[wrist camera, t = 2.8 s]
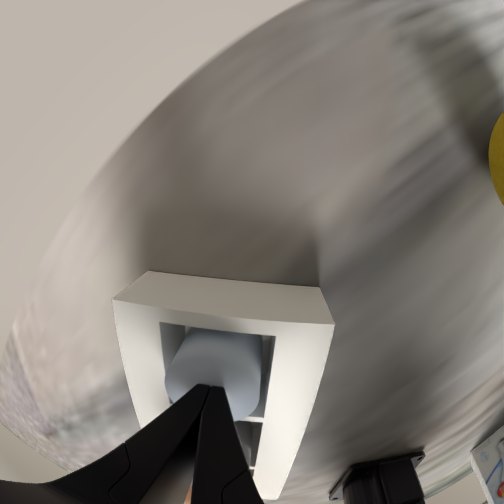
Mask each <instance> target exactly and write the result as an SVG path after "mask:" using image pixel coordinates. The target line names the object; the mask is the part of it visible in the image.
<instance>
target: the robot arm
mask: <svg viewBox="0 0 504 504" xmlns="http://www.w3.org/2000/svg"><path fill="white" fill-rule="evenodd" d="M424 457H425V453H424V452H423V451H422V452H418V453H414V454H410V455H406V456H401V457H397V458H392V459H387V460H381V461H375V462H369V463H362V464H356V465H353V466H351V467H350V468H349V470H348V471H347V473H346V474H345V475H344V477H343V478H342V480H341V481H340V482H339V484H338V485H337V486H336V488H335V489H334V490H333V491H332V493H331V494H330V495H329V500H330V501H334V500H343V499H344V504H425V501H424V493H423V490H422V487H421V484H420V481H419V479H418V476H417V473H416V470H415V468H416V467H417V466H418V464H419V463H420V462H421V461H422V460H423V459H424ZM192 479H193V483H192V492H191V502H190V504H264V502H263V500H262V498H261V496H260V495H259V492H258V490H257V487H256V485H255V483H254V480H253V477H252V474H251V472H250V470H249V466H248V463H247V460H246V457H245V454H244V451H243V448H242V445H241V442H240V438H239V435H238V432H237V429H236V425H235V422H234V419H233V415H232V412H231V409H230V405H229V402H228V398H227V394H226V391H225V388H224V387H221V386H210V385H207V384H200V383H198V384H196V385H195V386H194V387H193V388H191V389H190V390H189V391H188V392H187V393H186V394H184V395H183V396H182V397H181V398H180V399H178V400H177V401H176V402H175V403H173V404H172V405H171V406H170V407H169V408H167V409H166V410H165V411H164V412H162V413H161V414H160V415H159V416H157V417H156V418H155V419H154V420H152V421H151V422H150V423H148V424H147V425H146V426H145V427H143V428H142V429H141V430H139V431H138V432H137V433H135V434H134V435H133V436H132V437H130V438H129V439H128V440H126V441H125V443H122V444H121V445H119V446H118V447H116V448H115V449H114V450H112V451H111V452H109V453H108V454H106V455H105V456H103V457H101V458H100V459H98V460H96V461H94V462H92V463H91V464H89V465H87V466H85V467H83V468H81V469H79V470H77V471H74V472H72V473H70V474H68V475H66V476H64V477H61V478H59V479H57V480H54V481H51V482H46V483H38V484H35V483H21V482H12V481H5V480H0V504H184V502H185V499H186V496H187V493H188V490H189V488H190V485H191V482H192Z"/></svg>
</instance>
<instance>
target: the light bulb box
mask: <svg viewBox="0 0 504 504" xmlns="http://www.w3.org/2000/svg"><path fill="white" fill-rule="evenodd" d="M470 458H471V465H472V468H473V470H474V472H475V474H476V476H477V478H478V480H479V482H480V484H481V486H482V489H483V491H484V494H485V496H486V498H487V501H488V503H489V504H504V425H502V426H501V427H500V428H499V429H498V430H497V431H496V432H494V433H493V434H492V435H491V436H490V437H488V438H487V439H486V440H485V441H483V442H482V443H481V444H480V445H478V446H477V447H476V448H474V449H473V450H472V451H471V452H470Z"/></svg>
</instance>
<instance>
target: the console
mask: <svg viewBox="0 0 504 504" xmlns="http://www.w3.org/2000/svg"><path fill="white" fill-rule="evenodd" d="M112 304H113V312H114V318H115V324H116V330H117V336H118V341H119V346H120V351H121V356H122V361H123V365H124V370H125V374H126V378H127V382H128V386H129V390H130V394H131V397H132V401H133V404H134V408H135V411H136V414H137V418H138V421H139V424H140V427H141V429H142V428H143V427H145V426H146V425H147V424H148V423H150V422H151V421H152V420H154V419H155V418H156V417H157V416H159V415H160V414H161V413H162V412H164V411H165V410H166V409H167V408H169V407H170V406H171V405H172V404H173V403H174V402H173V401H172V400H171V399H170V397H169V395H168V394H167V391H166V388H165V382H164V380H165V375H166V372H167V370H168V368H169V367H170V365H171V363H172V361H173V359H174V357H175V355H176V353H177V351H178V350H179V348H180V346H181V344H182V342H183V340H184V338H185V336H186V335H187V333H188V331H189V329H190V327H198V328H205V329H213V330H221V331H230V332H239V333H249V334H260V335H261V336H262V341H263V350H262V365H261V380H260V395H259V402H258V405H257V407H256V408H255V410H254V411H253V412H252V413H251V414H250V415H248V416H247V417H245V418H243V419H241V421H250V422H251V423H252V425H253V437H252V448H251V458H250V468H249V470H250V472H251V474H252V477H253V480H254V483H255V485H256V487H257V490H258V492H259V495H260V496H261V498H262V499H278V497H279V495H280V493H281V490H282V488H283V486H284V483H285V481H286V479H287V476H288V474H289V472H290V469H291V467H292V464H293V462H294V459H295V456H296V454H297V451H298V449H299V446H300V443H301V440H302V438H303V435H304V432H305V429H306V426H307V423H308V420H309V417H310V414H311V411H312V408H313V405H314V402H315V399H316V395H317V392H318V389H319V385H320V382H321V378H322V375H323V371H324V368H325V364H326V360H327V356H328V352H329V348H330V344H331V340H332V336H333V332H334V328H335V323H334V320H333V318H332V316H331V313H330V311H329V308H328V306H327V304H326V301H325V299H324V297H323V294H322V292H321V290H320V287H308V286H295V285H282V284H271V283H259V282H248V281H237V280H227V279H217V278H207V277H198V276H189V275H180V274H171V273H162V272H154V271H147V272H146V273H144V274H143V275H142V276H140V277H139V278H138V279H137V280H135V281H134V282H133V283H131V284H130V285H129V286H128V287H126V288H125V289H124V290H123V291H121V292H120V293H119V294H118V295H116V296H115V297H114V298H113V299H112Z"/></svg>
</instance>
